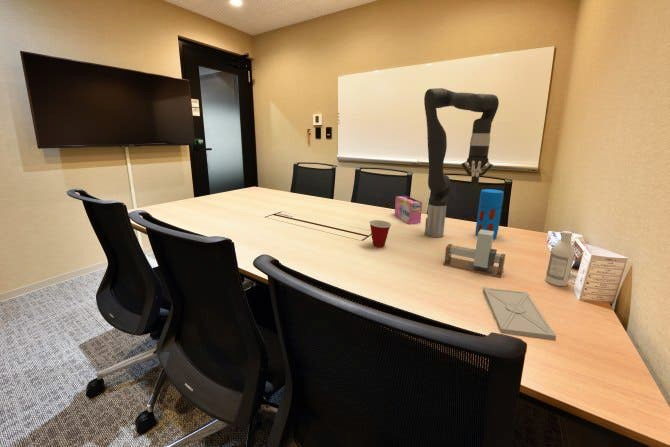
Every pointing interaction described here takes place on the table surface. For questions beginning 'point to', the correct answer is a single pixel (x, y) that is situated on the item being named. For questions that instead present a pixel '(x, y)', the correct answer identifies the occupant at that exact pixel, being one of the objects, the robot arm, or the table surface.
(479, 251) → the pale grey rectangular block
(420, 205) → the pink cardboard box
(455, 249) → the rail
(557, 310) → the table surface
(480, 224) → the blue tall rounded block
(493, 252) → the gray brick
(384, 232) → the plastic cup
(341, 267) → the table surface
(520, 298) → the envelope
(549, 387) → the table surface
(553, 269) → the bath foam
